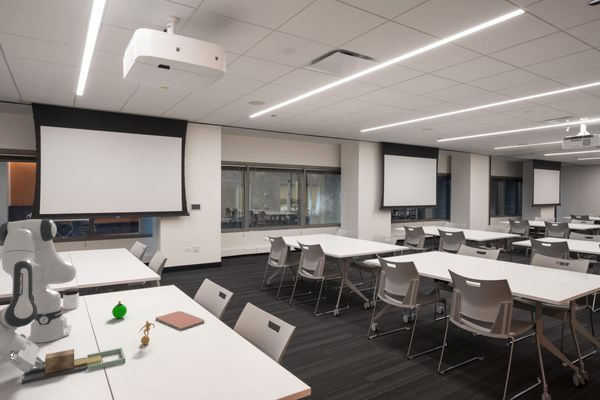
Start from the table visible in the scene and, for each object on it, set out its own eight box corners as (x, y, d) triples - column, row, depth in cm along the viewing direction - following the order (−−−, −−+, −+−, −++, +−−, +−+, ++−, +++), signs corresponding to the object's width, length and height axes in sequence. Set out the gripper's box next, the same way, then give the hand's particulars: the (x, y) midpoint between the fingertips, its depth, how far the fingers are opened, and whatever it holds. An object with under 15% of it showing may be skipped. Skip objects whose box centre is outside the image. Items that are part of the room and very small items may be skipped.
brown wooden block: (45, 376, 146) (45, 359, 146) (46, 370, 151) (45, 354, 150) (74, 369, 152) (74, 353, 151) (74, 365, 156) (74, 348, 156)
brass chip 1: (74, 369, 152) (74, 365, 152) (74, 365, 156) (74, 360, 156) (88, 366, 154) (88, 362, 154) (87, 362, 158) (87, 357, 158)
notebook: (206, 323, 211) (206, 319, 211) (180, 331, 198) (180, 327, 198) (180, 313, 228) (180, 310, 228) (155, 320, 215) (155, 317, 215)
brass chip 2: (88, 367, 154) (88, 362, 154) (87, 362, 159) (87, 358, 158) (101, 364, 157) (101, 359, 157) (100, 359, 161) (100, 355, 161)
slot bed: (21, 387, 140) (21, 381, 140) (25, 375, 149) (25, 369, 149) (87, 372, 152) (87, 367, 152) (86, 362, 161) (86, 356, 161)
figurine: (150, 340, 185) (150, 317, 185) (157, 343, 182) (157, 319, 181) (135, 345, 178) (135, 321, 178) (141, 348, 175) (141, 324, 175)
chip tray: (88, 373, 151) (88, 366, 151) (87, 361, 162) (87, 354, 162) (125, 365, 158) (125, 358, 158) (122, 353, 169) (122, 347, 169)
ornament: (123, 320, 215) (123, 303, 214) (109, 320, 214) (109, 303, 214) (129, 315, 223) (129, 299, 222) (115, 315, 222) (115, 299, 222)
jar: (64, 310, 231) (64, 292, 231) (61, 308, 237) (61, 289, 237) (80, 307, 237) (80, 289, 237) (77, 305, 243) (77, 287, 243)
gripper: (16, 350, 135) (48, 369, 140) (23, 332, 153) (51, 350, 158) (1, 365, 133) (34, 384, 138) (10, 345, 150) (39, 362, 156)
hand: (43, 365), depth 148 cm, fingers closed
